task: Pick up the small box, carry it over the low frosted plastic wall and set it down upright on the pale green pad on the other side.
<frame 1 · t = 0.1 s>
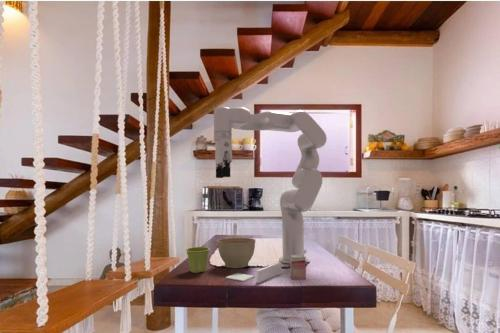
hand: (222, 177, 137), 37 cm above the table, tool pointing down, fingers open, 9 cm apart
plant pot: (197, 271, 130), on the table
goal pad: (240, 277, 120), on the table
small box: (298, 278, 119), on the table
low wall: (269, 277, 120), on the table
planter bowl: (236, 266, 138), on the table
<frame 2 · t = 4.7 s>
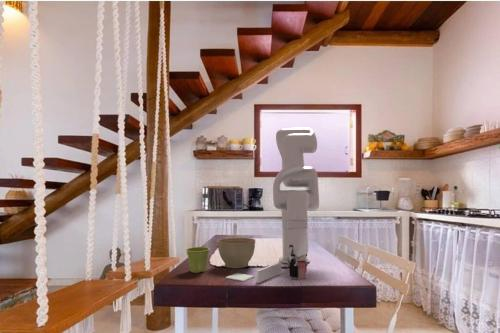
hand: (298, 274, 119), 1 cm above the table, tool pointing down, fingers closed on small box, 6 cm apart
small box: (298, 278, 119), on the table, touching gripper
everything else where it was.
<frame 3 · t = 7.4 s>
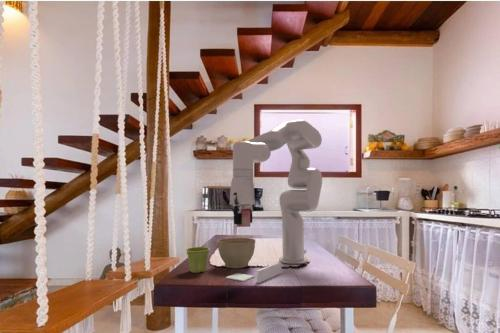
hand: (243, 223, 121), 20 cm above the table, tool pointing down, fingers closed on small box, 6 cm apart
small box: (243, 227, 121), point 18 cm above the table, touching gripper
everything else where it was.
when the fingers open (2 cm above the table, at t = 10.5 s): small box stays where it is, resting on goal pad.
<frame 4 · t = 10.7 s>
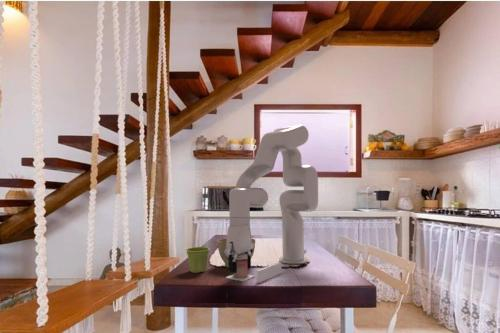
hand: (240, 269, 120), 3 cm above the table, tool pointing down, fingers open, 8 cm apart
small box: (240, 276, 120), resting on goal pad
everything else where it was.
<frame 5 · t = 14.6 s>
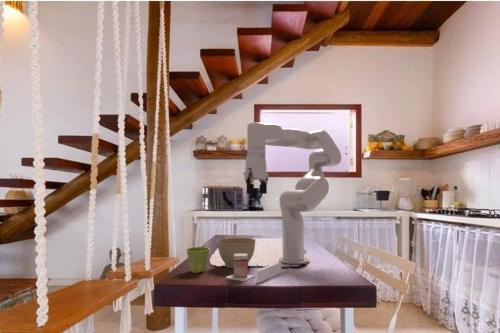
hand: (256, 193, 135), 30 cm above the table, tool pointing down, fingers open, 9 cm apart
nothing on the table moved.
at the end: small box inside the target area on the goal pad (0.3 cm from its centre), point 0.2 cm above the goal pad's base; small box tilted 0°; the gripper is holding nothing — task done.
